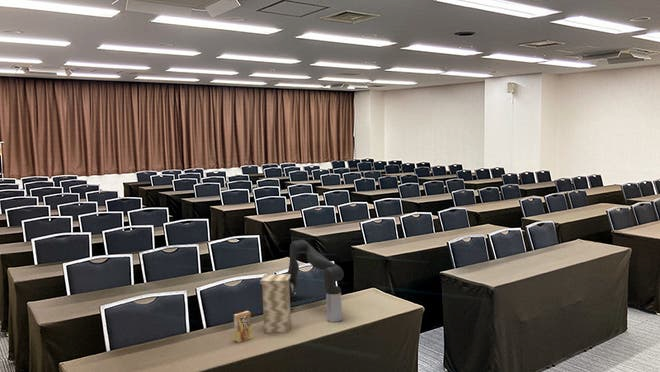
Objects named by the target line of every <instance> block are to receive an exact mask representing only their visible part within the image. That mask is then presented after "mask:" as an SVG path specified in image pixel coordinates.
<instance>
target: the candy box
mask: <svg viewBox="0 0 660 372" xmlns="http://www.w3.org/2000/svg"><path fill="white" fill-rule="evenodd" d="M233 323H234V340H235V341H236V342H237V343H241V342H244V341H247V340H251V339H252V338H253V335H252V334H253V333H252V331H253V330H252V313H251V311H249V310H245V311H242V312H238V313H235V314H233Z"/></svg>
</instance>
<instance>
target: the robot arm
mask: <svg viewBox="0 0 660 372" xmlns="http://www.w3.org/2000/svg"><path fill="white" fill-rule="evenodd" d="M289 246H290V247H289V264H288V270H287V274H291V278H290V280H289V291H290V298H293V297H294V296H295V295H296V294H297V293H296V290H294V289H297V288H298V285H299V279H298V274H299V269H300V266H299V263H298V261H297V258H296V257H297V255H299V254H306V255H307V262H308V263H309V264H310V265H311V266H312V267H313V268H315V269H317V270H321V271H323V280H324V289H325V300H326V302H325V303H326V304H325V305H326V320H327V322H331V323H339V322H342V321H343V306H342V289H341V287H340V286H338V285H335V282H339V281H341V280H342V279H343V278H344V276H345V275H344V270H343V269H342V267H341V266H339V265H338V264H336V263H334V262H332V261H331V260H329V259H328V258H326V256H324V255H323V254H321V253H320V252H318V250H316V248H314V247H313V246H312V245H310V243H308V241H306V240H305V239H298V240H292V242H291V243H290V245H289Z"/></svg>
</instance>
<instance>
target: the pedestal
mask: <svg viewBox="0 0 660 372" xmlns="http://www.w3.org/2000/svg"><path fill="white" fill-rule="evenodd" d="M290 278H291V274H288V273H282V274H278V273H277V274H264V275H263V276H262V278H261V279H260V280H259V284H260V285H261V290H262V291H261V292H262V309H263V311H262V312H263V314H262V315H263V329H264V330H263V331H264V332H263V333H265V334H269V333H274V334H275V333H289V331H290V328H291V326H292V318H291V317H292V316H291V315H292V314H291V297H290V291H289V280H290Z"/></svg>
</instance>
